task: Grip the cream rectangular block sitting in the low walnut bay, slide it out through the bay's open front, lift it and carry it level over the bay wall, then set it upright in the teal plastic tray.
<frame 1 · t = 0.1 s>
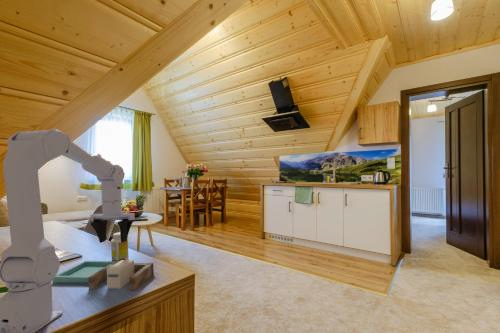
hand: (113, 241, 83), 10 cm above the table, tool pointing down, fingers open, 7 cm apart
supplement bottle: (120, 261, 93), on the table
bay: (121, 282, 75), on the table
tray: (88, 274, 82), on the table
cream rectangular block: (120, 274, 75), in the bay
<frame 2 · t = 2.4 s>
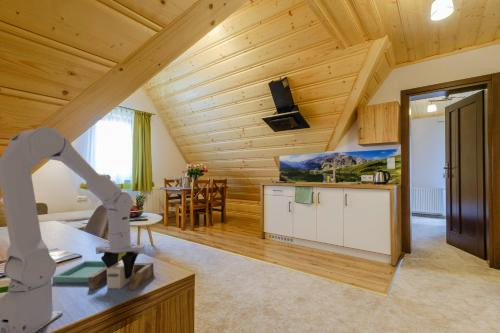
hand: (121, 277, 75), 2 cm above the table, tool pointing down, fingers closed on cream rectangular block, 4 cm apart
cream rectangular block: (120, 273, 75), in the bay, touching gripper
everything else where it was.
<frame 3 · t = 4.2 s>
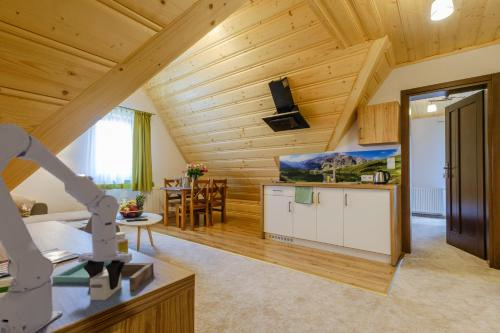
hand: (106, 287, 69), 2 cm above the table, tool pointing down, fingers closed on cream rectangular block, 4 cm apart
cream rectangular block: (105, 283, 68), on the table, touching gripper
everything else where it was.
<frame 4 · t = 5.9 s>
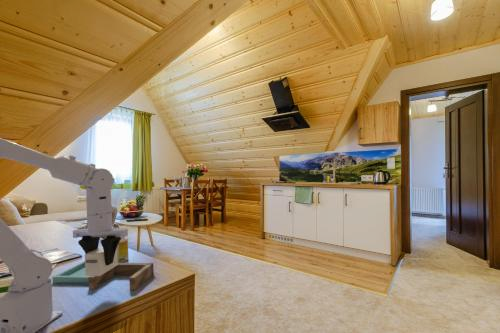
hand: (101, 263, 67), 9 cm above the table, tool pointing down, fingers closed on cream rectangular block, 4 cm apart
cream rectangular block: (101, 260, 67), point 10 cm above the table, touching gripper
everything else where it was.
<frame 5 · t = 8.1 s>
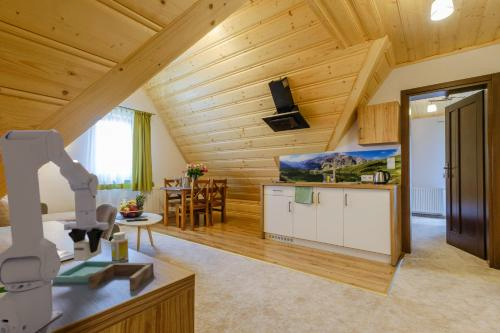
hand: (87, 251, 82), 7 cm above the table, tool pointing down, fingers closed on cream rectangular block, 4 cm apart
cream rectangular block: (87, 248, 82), point 8 cm above the table, touching gripper
everything else where it was.
when the fingers open (3 cm above the table, at t = 9.8 s): cream rectangular block stays where it is, resting on tray.
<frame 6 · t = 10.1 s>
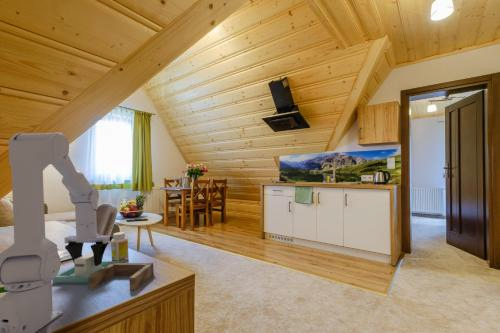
hand: (88, 264, 82), 3 cm above the table, tool pointing down, fingers open, 7 cm apart
cream rectangular block: (87, 264, 82), in the tray, point 3 cm above the table
everything else where it was.
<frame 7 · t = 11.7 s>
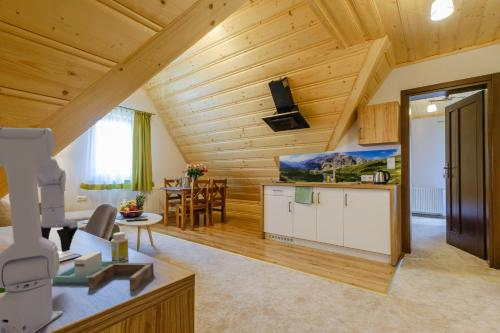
hand: (54, 250, 78), 9 cm above the table, tool pointing down, fingers open, 7 cm apart
nothing on the table moved.
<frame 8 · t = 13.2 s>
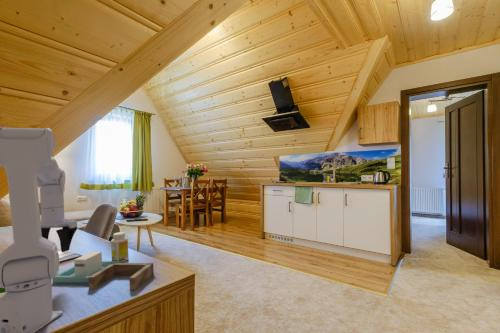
hand: (54, 251, 78), 9 cm above the table, tool pointing down, fingers open, 7 cm apart
nothing on the table moved.
at the end: cream rectangular block 0.3 cm off-centre on the tray, point 3.3 cm above the tray's base; cream rectangular block tilted 0°; the gripper is holding nothing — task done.
